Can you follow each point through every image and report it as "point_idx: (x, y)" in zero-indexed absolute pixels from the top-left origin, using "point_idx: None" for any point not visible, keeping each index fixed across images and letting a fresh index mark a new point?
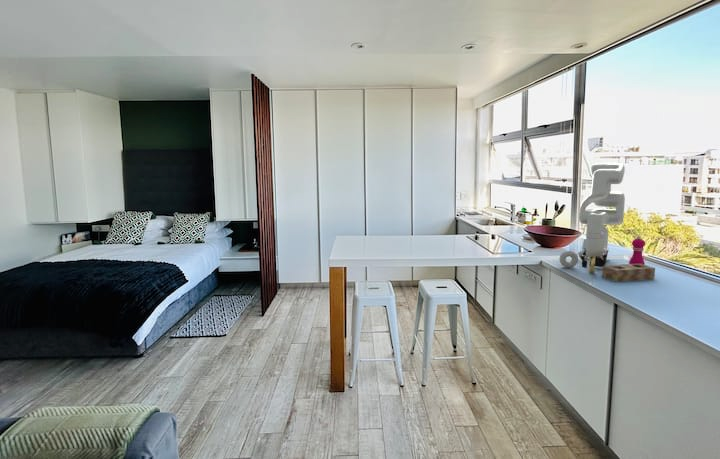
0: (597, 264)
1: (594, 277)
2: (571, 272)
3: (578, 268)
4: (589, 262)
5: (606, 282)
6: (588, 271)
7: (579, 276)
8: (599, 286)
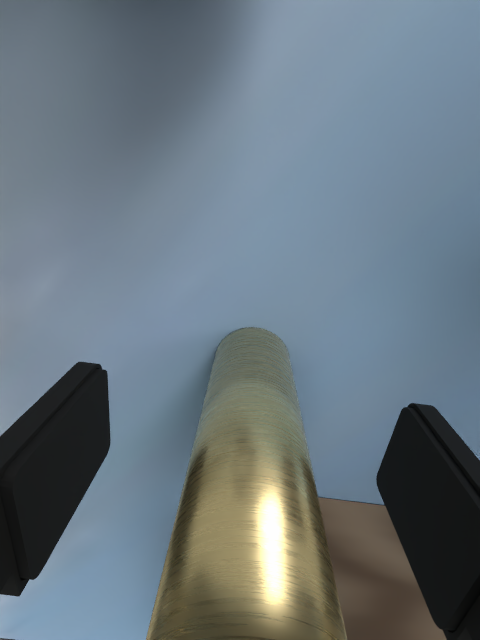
0: (409, 439)
1: (155, 481)
2: (16, 227)
3: (312, 20)
4: (184, 487)
5: (144, 592)
6: (215, 359)
7: (19, 408)
8: (23, 623)
